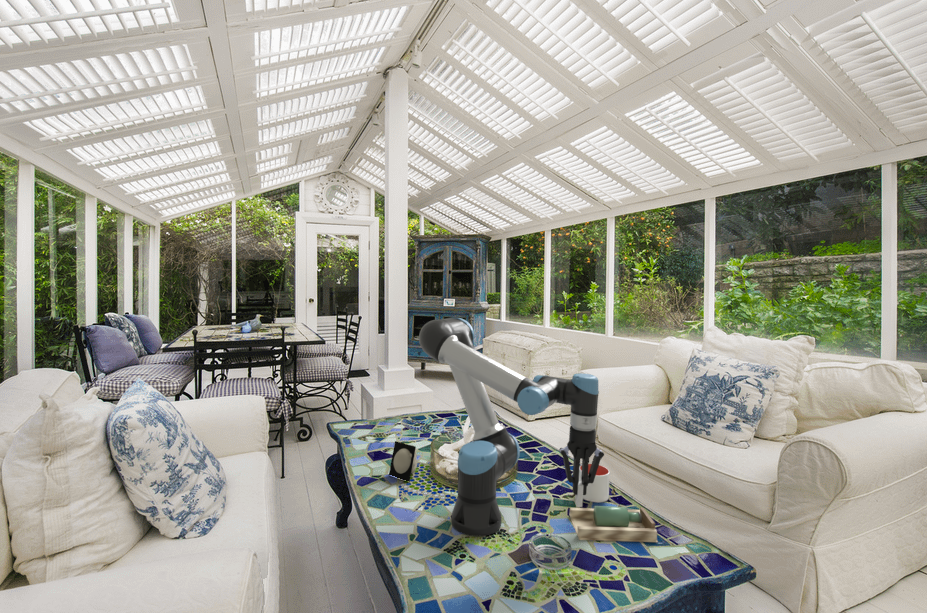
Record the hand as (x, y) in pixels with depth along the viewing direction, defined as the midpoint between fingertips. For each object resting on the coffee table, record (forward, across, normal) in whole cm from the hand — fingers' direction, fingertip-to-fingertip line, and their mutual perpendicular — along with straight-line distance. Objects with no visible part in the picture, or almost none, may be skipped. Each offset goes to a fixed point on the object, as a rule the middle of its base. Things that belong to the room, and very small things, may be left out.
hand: (578, 504), depth 133 cm
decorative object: (+9, -56, +34) cm, 66 cm away
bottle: (+4, +6, +1) cm, 7 cm away
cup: (+8, +10, +19) cm, 23 cm away
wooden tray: (+7, +10, -1) cm, 12 cm away
